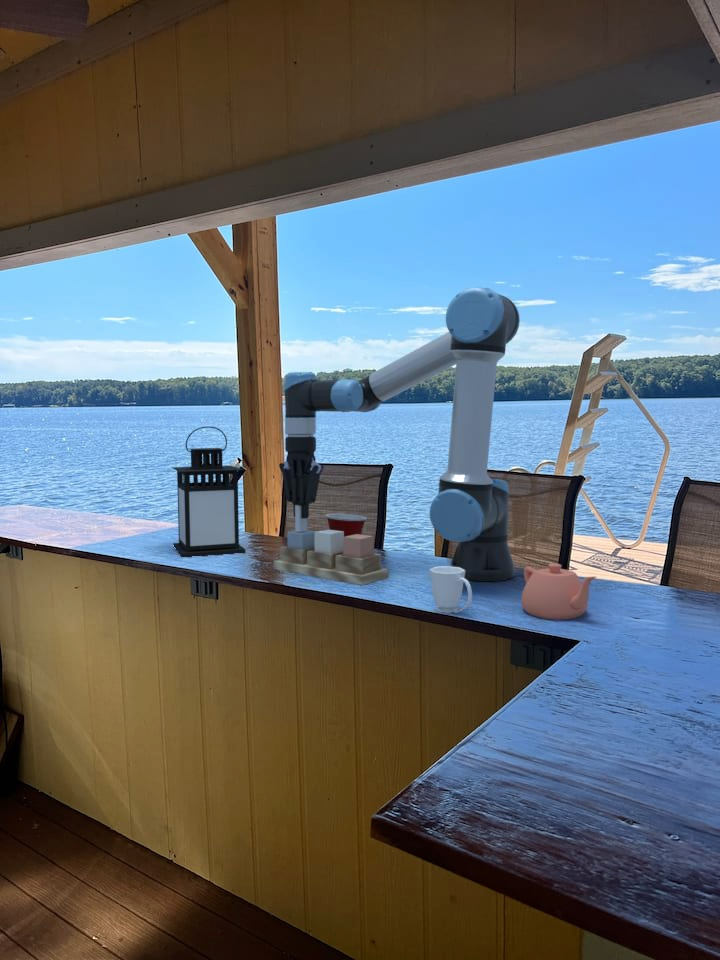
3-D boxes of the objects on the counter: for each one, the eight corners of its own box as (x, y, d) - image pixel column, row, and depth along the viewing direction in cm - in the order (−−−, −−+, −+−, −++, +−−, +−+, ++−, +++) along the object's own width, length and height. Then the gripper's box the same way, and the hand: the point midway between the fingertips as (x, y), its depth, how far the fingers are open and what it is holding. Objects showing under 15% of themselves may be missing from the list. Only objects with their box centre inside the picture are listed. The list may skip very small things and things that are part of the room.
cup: (447, 603, 149) (447, 564, 148) (483, 614, 141) (484, 572, 140) (421, 609, 145) (421, 568, 144) (457, 620, 137) (457, 577, 136)
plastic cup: (372, 562, 190) (372, 516, 189) (331, 565, 187) (331, 518, 186) (360, 555, 200) (360, 511, 199) (321, 557, 198) (321, 512, 196)
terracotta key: (373, 561, 172) (373, 536, 172) (360, 565, 168) (360, 539, 168) (356, 559, 175) (356, 534, 175) (343, 562, 171) (343, 536, 171)
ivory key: (343, 556, 178) (343, 531, 177) (330, 559, 174) (330, 534, 173) (328, 553, 181) (328, 529, 180) (314, 556, 177) (314, 532, 176)
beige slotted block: (388, 577, 173) (388, 554, 172) (362, 585, 165) (362, 561, 165) (301, 562, 190) (300, 541, 190) (273, 569, 183) (273, 547, 182)
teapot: (545, 599, 153) (546, 554, 152) (616, 619, 137) (617, 569, 136) (501, 607, 146) (502, 560, 145) (570, 630, 131) (572, 577, 130)
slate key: (316, 555, 183) (315, 531, 183) (302, 558, 180) (302, 534, 179) (301, 553, 187) (301, 529, 186) (287, 556, 183) (287, 532, 182)
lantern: (232, 543, 220) (230, 425, 216) (245, 553, 204) (243, 426, 200) (173, 547, 213) (170, 426, 210) (181, 557, 197) (178, 427, 194)
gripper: (330, 436, 179) (331, 531, 181) (291, 434, 187) (292, 526, 190) (309, 436, 173) (310, 535, 176) (270, 435, 182) (271, 530, 184)
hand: (301, 530), depth 183 cm, fingers closed
